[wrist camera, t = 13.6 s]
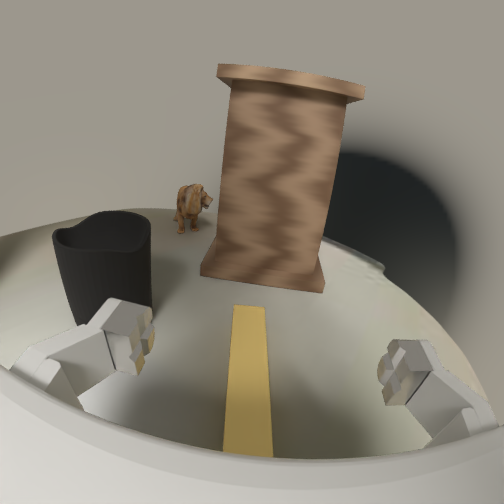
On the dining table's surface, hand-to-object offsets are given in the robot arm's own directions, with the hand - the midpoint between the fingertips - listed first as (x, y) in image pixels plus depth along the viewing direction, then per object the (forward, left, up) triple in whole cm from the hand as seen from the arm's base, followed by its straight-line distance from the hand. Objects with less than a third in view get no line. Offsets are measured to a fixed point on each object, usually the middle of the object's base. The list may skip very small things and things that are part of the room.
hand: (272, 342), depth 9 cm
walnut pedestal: (0, +31, -13) cm, 34 cm away
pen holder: (-15, +13, -13) cm, 24 cm away
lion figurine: (-14, +41, -13) cm, 45 cm away
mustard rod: (0, +4, -13) cm, 14 cm away
